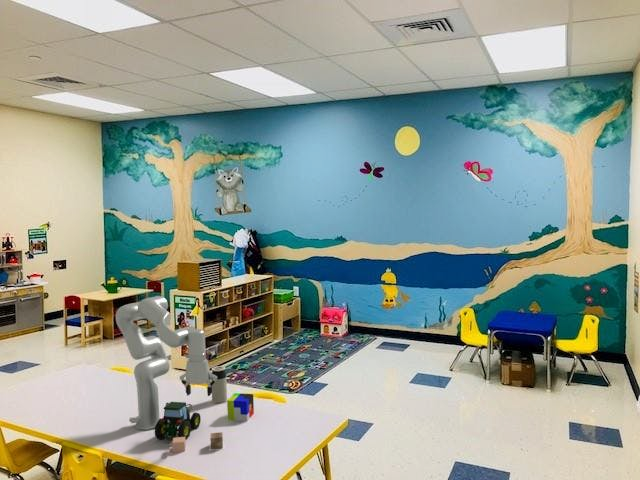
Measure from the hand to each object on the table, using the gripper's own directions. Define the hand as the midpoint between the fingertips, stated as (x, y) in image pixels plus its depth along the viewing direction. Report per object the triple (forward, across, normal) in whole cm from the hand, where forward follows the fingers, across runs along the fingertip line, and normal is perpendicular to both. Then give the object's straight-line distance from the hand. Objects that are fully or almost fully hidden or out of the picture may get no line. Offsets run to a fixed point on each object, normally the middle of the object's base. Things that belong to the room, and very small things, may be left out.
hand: (199, 394), depth 236 cm
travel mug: (+21, -7, +46) cm, 51 cm away
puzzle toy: (+21, +11, +26) cm, 35 cm away
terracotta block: (+21, -6, -11) cm, 24 cm away
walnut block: (+20, +10, -7) cm, 24 cm away
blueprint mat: (+21, +9, -8) cm, 24 cm away
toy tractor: (+21, -13, +5) cm, 25 cm away
